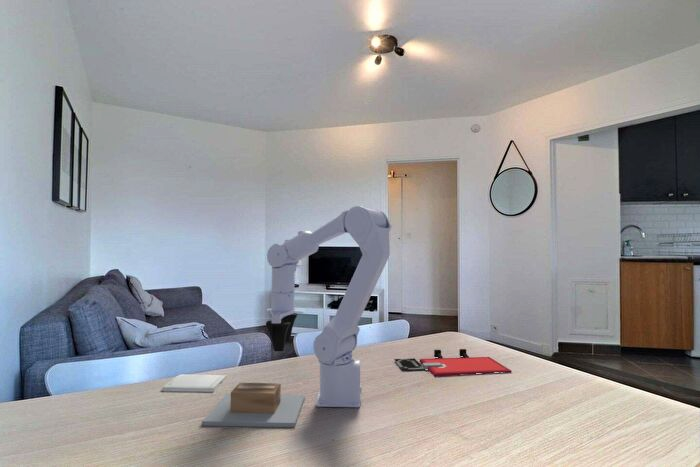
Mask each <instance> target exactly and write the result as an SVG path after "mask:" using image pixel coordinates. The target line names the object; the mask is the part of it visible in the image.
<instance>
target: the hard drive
mask: <svg viewBox="0 0 700 467" xmlns="http://www.w3.org/2000/svg"><path fill="white" fill-rule="evenodd" d="M227 379H228V375H227V374H225V375H224V374H223V375H222V374H216V375H215V374H182V373H181V374H178V375H177V376H175V377H173V378H172V379H171V380H170V381H169V382H167V383H166V384H164V385H163V386H162V387H161V389H162V390H161V391H162V392H188V393H189V392H191V393H192V392H193V393H194V392H195V393H196V392H197V393H198V392H200V393H201V392H202V393H205V392H206V393H207V392H208V393H215V391H216V390H218V389H219V387H221V385H222V384H223V383H224V382H225V381H226V380H227Z"/></svg>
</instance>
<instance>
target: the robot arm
mask: <svg viewBox="0 0 700 467" xmlns="http://www.w3.org/2000/svg"><path fill="white" fill-rule="evenodd" d="M391 230H392V225H391V222H390V220H389V218H388V216H387V215H386V213H385V212H384V211H382V210H380V209H372V208H368V207H364V206H361V205H355V206H353V207H350V208H349V210H344V211H342V212H341V213H340V214H339V215H338V216H336V217H335V218H334V219H331V221H328V222H327V223H326V224H324V225H322V226H320V227H318V229H315V230H314V231H313V232H312V231H310V230H299V231H297V235H295V236H293V237H292V238H290V239H289V238H287V239H285V240H284V242H283V243H282V244H280V243H274V244H272V245H271V246H270V247H269V248H268V250H267V254H266V259H267V263H268V264H269V265H270V266H271V297H270V298H271V302H270V304H271V307H270V308H267V309H266V313H270V314H271V320H267V321H266V322H265V326H266V329H268V332H269V335H270V337H271V343H272V348H273V351H274V352H284V349H285V345H286V343H290V342H291V338H292V334H293V326H294V324H295V321H296V318H297V317H298V313H296V309H295V283H296V281H295V280H296V278H295V276H296V275H295V273H296V271H297V265H298V263H299V262H300V261H301V260H303V259H305V258H307V257H309V256H311V255H313V254H315V253H317V252H318V251H319V247H320V245H322V244H324V243H326V242H329V241H331V240H333V239H335V238H337V237H339V236H342V235H344V234H346V233H347V234H349V235H350V236H351V237H352V240H354V241H355V243H356V244H357V245H358V247H359V249H360V252H361V254H362V256H360V260H359V262H358V264H357V267H356V269H355V271H354V273H353V276H352V277H351V280H350V282H349V284H348V286H347V289H346V291H345V293H344V295H343V298H342V300H341V302H340V304H339V306H338V308H337V310H336V313H335V315H334V317H333V318H332V319H331V320H330V321H329V322H328V323H326V324H325V326H324V327H323V330H322V332H321V333H319V334H318V335H317V336H316V337H315V338H314V341H313V352H314V355H315V357H316V358H317V359H318V363H319V391H318V395H317V398H316V402H315V406H316V407H318V408H320V407H322V408H323V407H324V408H326V407H327V408H330V407H331V408H360V407H361V395H362V388H363V387H362V384H361V360H360V359H355V358H353V351H355V349H356V347H357V345H358V337H359V336H358V335H359V333H360V331H361V330H360V327H359V322H360V320H361V317H362V315H363V313H364V311H365V309H366V307H367V305H368V302H369V300H370V298H371V296H372V295H373V292H374V289H375V288H376V286H377V283H378V281H379V279H380V277H381V276H382V273H383V270H384V269H385V267H386V264H387V262H388V259H389V258H390V255H391V254H390V252H391V249H390V248H391V247H390V231H391Z"/></svg>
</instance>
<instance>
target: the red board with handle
mask: <svg viewBox="0 0 700 467" xmlns="http://www.w3.org/2000/svg"><path fill="white" fill-rule="evenodd" d="M458 355H460V356H463V357H443V355H442V350H441V349H434V350H433V357H438V358H419V361H418V360H417V359H416V358H414V357H413V358H393V360H394V361H395V363H397V365H398V367H400V369H401V370H403V371H405V370H424V369H428V370H429V371H430V372H431V373H432V374H433V375H434V376H438V377H446V376H445V375H457V376H461V375H460V374H476V373H494V372H512V370H511V369H509V368H507V367H506V366H505V365H503V364H502V363H500V362H498V361H496V360H495V359H493V358H491V357H490V356H480V357H479V356H475V357H471V356H469V355H468V354H467V349H466V348H459V354H458ZM464 357H465V358H464ZM420 362H421V363H422V364H421V363H420ZM428 370H427V371H428ZM429 371H428V372H429ZM430 372H429V373H430ZM431 373H430V374H431ZM432 374H431V375H432ZM433 375H432V376H433ZM434 376H433V377H434Z"/></svg>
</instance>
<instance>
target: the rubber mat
mask: <svg viewBox="0 0 700 467" xmlns="http://www.w3.org/2000/svg"><path fill="white" fill-rule="evenodd" d="M305 396H306V395H304V394H303V395H300V394H299V395H298V394H295V395H293V394H288V395H287V394H281V395H280V404H279V406H278V408H277V410H276V411H275V413H274V414H268V413H232V412H230V405H231V393H228V394H227V393H225V394H224V396H223V397H222V398H221V399H220V400H219V401H218V402H217V404H216V405H215V406H214V407H213V408H212V409H211V410H210V412H208V413H207V415H206V416H205V417H204V418H203V419H202V421H201V426H208V427H212V426H213V427H214V426H216V427H261V428H262V427H263V428H264V427H265V428H266V427H268V428H269V427H270V428H271V427H272V428H273V427H274V428H296V427H297V426H296V425H297V423H298V420H299V417H300V413H301V411H302V409H303V408H302V407H303V405H304V402H305Z"/></svg>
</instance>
